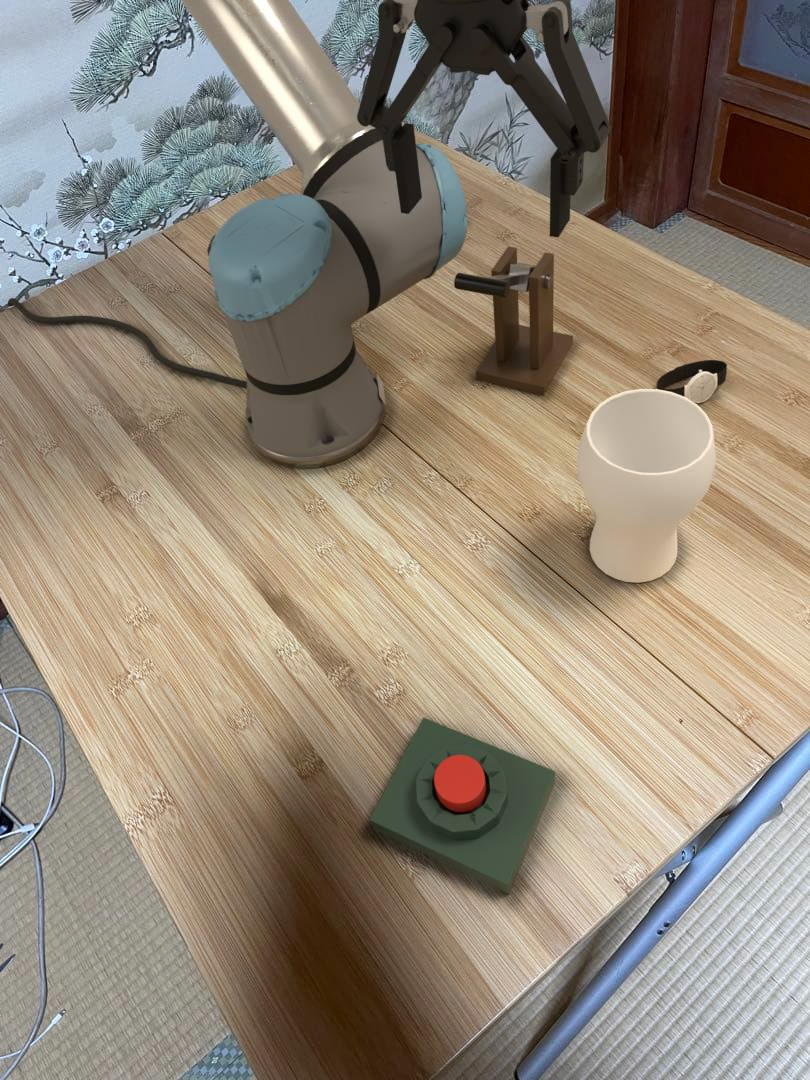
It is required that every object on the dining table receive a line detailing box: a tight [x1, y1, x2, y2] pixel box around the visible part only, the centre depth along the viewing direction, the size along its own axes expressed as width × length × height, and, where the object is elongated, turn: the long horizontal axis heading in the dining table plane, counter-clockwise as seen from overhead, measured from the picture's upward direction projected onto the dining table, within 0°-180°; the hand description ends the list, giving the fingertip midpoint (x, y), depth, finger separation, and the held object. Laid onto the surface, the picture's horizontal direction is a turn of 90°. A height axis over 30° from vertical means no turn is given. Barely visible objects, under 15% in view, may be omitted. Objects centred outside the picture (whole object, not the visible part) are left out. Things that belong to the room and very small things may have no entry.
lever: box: [453, 262, 537, 298], centre depth 81 cm, size 13×5×2 cm, turn 153°
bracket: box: [475, 246, 574, 396], centre depth 89 cm, size 9×8×13 cm
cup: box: [576, 388, 717, 584], centre depth 70 cm, size 11×11×15 cm
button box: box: [369, 717, 556, 895], centre depth 62 cm, size 11×9×4 cm
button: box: [434, 755, 486, 812], centre depth 60 cm, size 4×4×2 cm
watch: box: [656, 359, 728, 404], centre depth 86 cm, size 8×5×4 cm, turn 112°
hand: (483, 216), depth 71 cm, fingers open, 13 cm apart
